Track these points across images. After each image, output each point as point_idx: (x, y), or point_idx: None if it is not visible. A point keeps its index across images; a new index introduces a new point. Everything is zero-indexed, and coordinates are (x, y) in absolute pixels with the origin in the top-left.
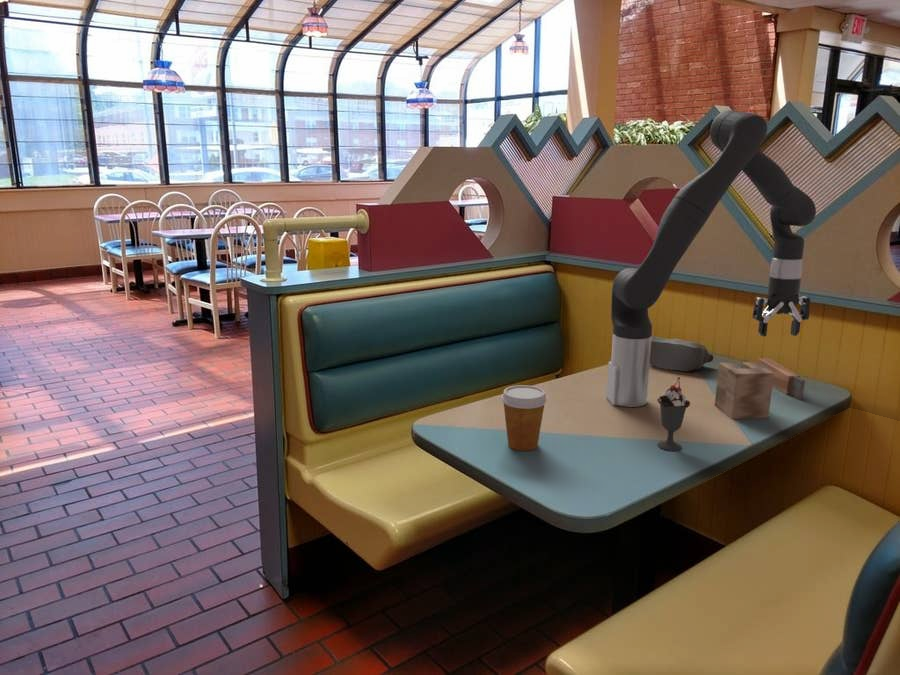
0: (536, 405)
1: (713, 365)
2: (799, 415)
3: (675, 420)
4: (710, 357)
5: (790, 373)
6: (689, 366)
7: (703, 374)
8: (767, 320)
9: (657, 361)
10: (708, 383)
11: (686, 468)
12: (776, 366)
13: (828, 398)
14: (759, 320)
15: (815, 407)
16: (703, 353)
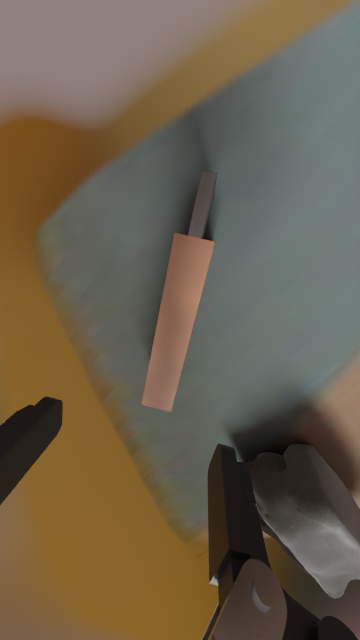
0: None
1: None
2: (336, 41)
3: None
4: None
5: (186, 265)
6: (317, 456)
7: (285, 424)
8: (243, 590)
9: (354, 502)
10: (332, 376)
11: None
12: (175, 339)
13: (125, 180)
14: (325, 619)
15: (219, 111)
16: (292, 483)
